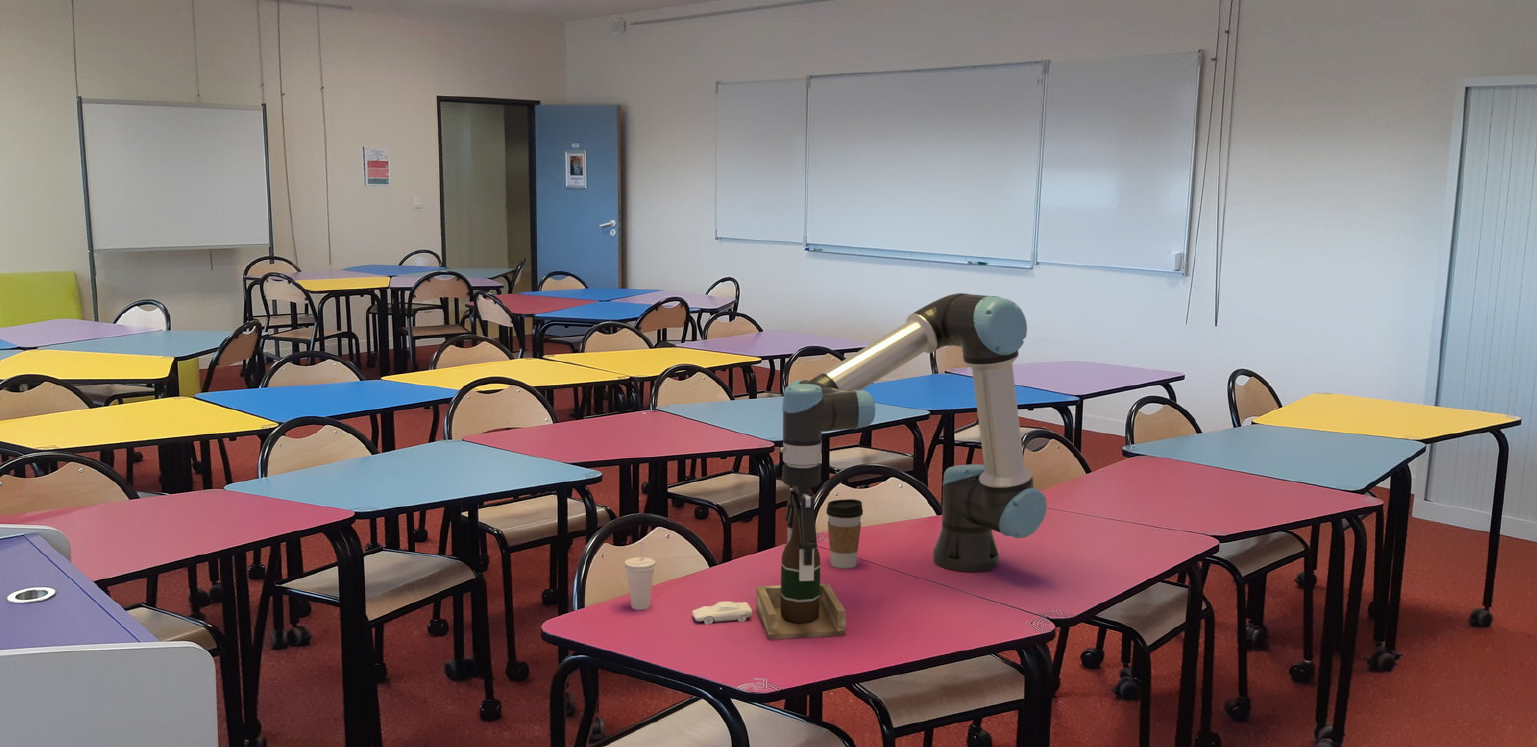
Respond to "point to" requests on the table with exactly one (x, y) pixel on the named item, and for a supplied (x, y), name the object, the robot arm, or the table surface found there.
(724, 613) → the toy car
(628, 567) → the smoothie
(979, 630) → the table surface
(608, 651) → the table surface
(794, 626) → the u rest
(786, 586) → the beer bottle
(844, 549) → the coffee cup
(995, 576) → the table surface
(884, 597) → the table surface
